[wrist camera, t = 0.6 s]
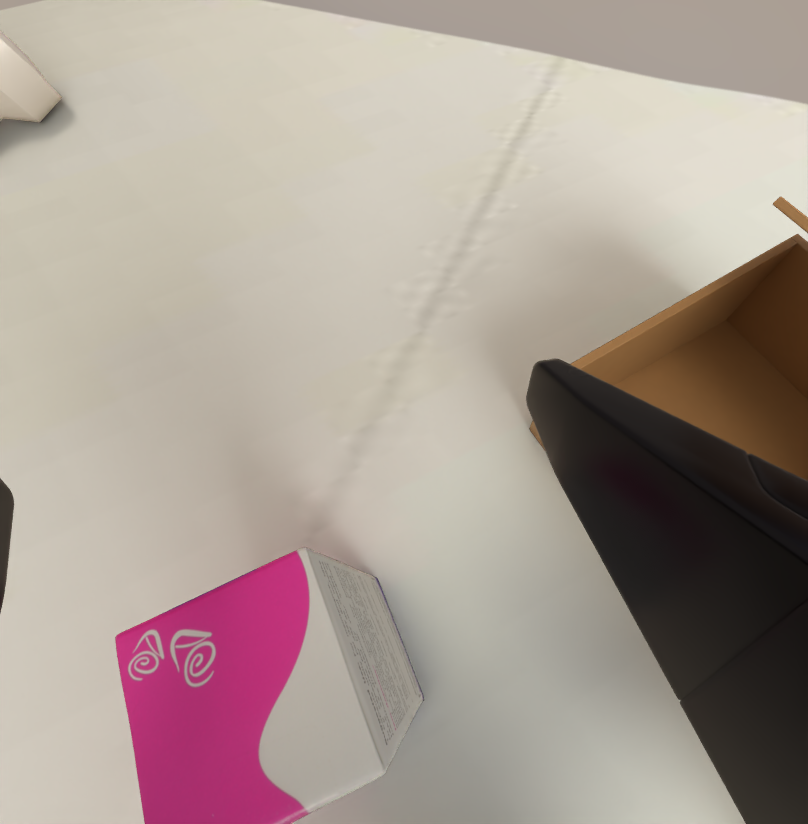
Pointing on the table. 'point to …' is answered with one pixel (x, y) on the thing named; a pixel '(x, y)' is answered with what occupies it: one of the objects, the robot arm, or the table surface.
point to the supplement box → (266, 694)
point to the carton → (727, 358)
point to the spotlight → (22, 85)
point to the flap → (792, 213)
